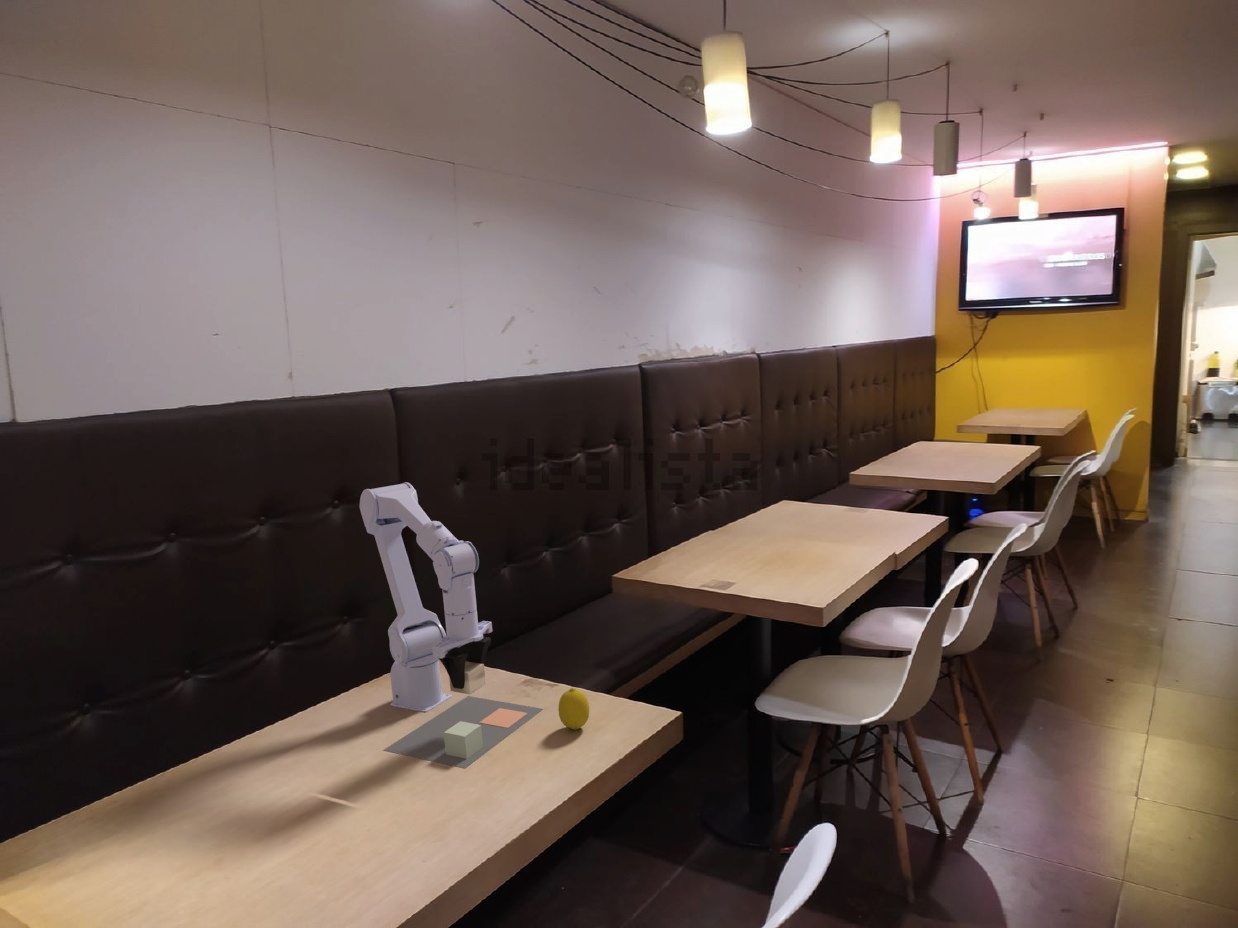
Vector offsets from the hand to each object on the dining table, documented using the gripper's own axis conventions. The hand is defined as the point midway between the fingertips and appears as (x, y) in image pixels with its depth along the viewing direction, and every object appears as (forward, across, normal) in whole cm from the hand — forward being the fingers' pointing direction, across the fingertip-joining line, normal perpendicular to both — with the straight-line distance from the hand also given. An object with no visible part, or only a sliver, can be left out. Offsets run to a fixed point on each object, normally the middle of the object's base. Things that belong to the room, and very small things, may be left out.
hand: (467, 682), depth 152 cm
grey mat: (+9, -1, 0) cm, 9 cm away
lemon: (+9, +6, -18) cm, 22 cm away
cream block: (+1, 0, 0) cm, 1 cm away
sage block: (+9, -8, -5) cm, 13 cm away
